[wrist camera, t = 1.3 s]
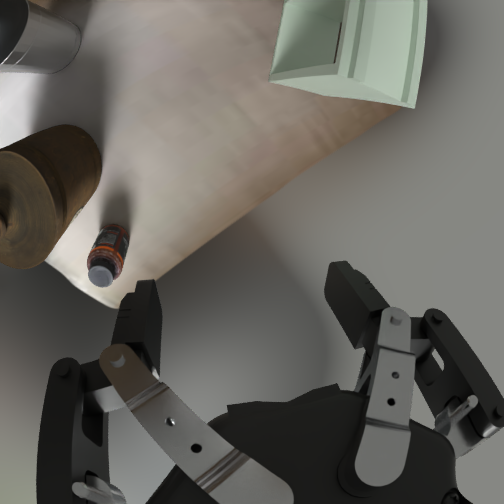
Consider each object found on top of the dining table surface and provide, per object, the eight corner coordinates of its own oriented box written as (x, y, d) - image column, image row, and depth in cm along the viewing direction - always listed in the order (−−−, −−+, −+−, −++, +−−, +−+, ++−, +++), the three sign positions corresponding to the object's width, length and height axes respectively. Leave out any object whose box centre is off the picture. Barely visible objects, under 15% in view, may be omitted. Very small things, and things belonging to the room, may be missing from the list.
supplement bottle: (93, 229, 42) (74, 266, 32) (121, 218, 42) (107, 254, 33) (108, 256, 45) (94, 296, 36) (135, 246, 46) (126, 286, 36)
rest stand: (268, 81, 36) (343, 74, 18) (284, -1, 28) (361, -52, 10) (324, 95, 39) (420, 110, 21) (338, 18, 31) (433, -5, 13)
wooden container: (33, 209, 36) (-30, 284, 18) (28, 128, 29) (-59, 167, 11) (103, 209, 40) (58, 295, 22) (104, 121, 33) (34, 149, 15)
